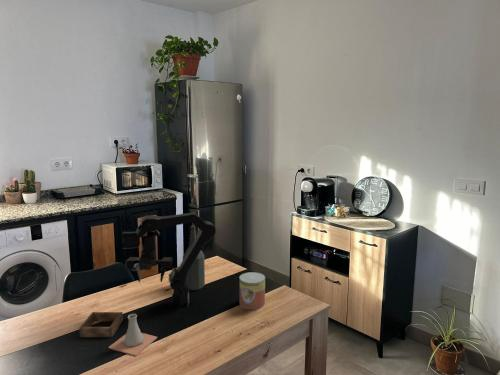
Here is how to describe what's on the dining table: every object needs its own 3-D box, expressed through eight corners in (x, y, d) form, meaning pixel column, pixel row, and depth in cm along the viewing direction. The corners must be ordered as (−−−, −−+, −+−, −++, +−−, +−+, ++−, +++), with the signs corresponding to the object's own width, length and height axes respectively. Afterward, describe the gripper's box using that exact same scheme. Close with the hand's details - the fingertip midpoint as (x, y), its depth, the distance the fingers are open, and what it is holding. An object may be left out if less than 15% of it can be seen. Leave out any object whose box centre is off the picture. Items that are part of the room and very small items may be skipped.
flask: (142, 334, 142) (140, 309, 140) (146, 344, 135) (144, 318, 133) (121, 339, 138) (120, 313, 137) (124, 349, 132) (123, 323, 130)
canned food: (235, 306, 164) (235, 280, 162) (245, 295, 174) (245, 270, 172) (259, 311, 160) (259, 284, 158) (268, 299, 170) (268, 274, 168)
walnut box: (122, 320, 152) (122, 312, 152) (112, 337, 140) (111, 328, 140) (93, 320, 152) (92, 312, 152) (79, 336, 140) (79, 328, 140)
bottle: (202, 290, 179) (201, 229, 173) (182, 290, 179) (180, 229, 173) (205, 281, 189) (204, 223, 183) (186, 281, 189) (184, 223, 184)
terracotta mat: (131, 331, 144) (131, 330, 144) (157, 337, 140) (157, 336, 140) (108, 348, 133) (108, 347, 133) (136, 356, 129) (136, 355, 129)
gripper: (119, 252, 149) (122, 290, 152) (167, 253, 149) (168, 290, 152) (128, 243, 160) (130, 278, 163) (172, 244, 160) (174, 278, 163)
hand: (150, 281), depth 160 cm, fingers open, 9 cm apart
